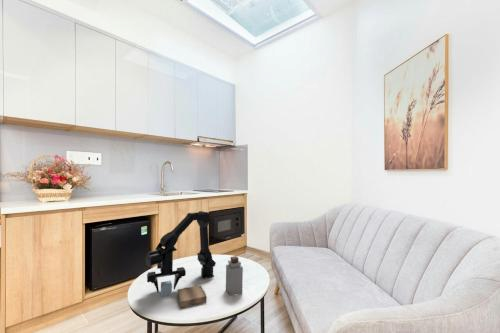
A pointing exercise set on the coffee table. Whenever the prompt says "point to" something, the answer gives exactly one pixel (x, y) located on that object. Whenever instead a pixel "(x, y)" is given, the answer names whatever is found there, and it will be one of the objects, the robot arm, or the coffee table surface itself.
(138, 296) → the coffee table surface
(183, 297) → the walnut plinth
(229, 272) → the perfume bottle
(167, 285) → the slate block
